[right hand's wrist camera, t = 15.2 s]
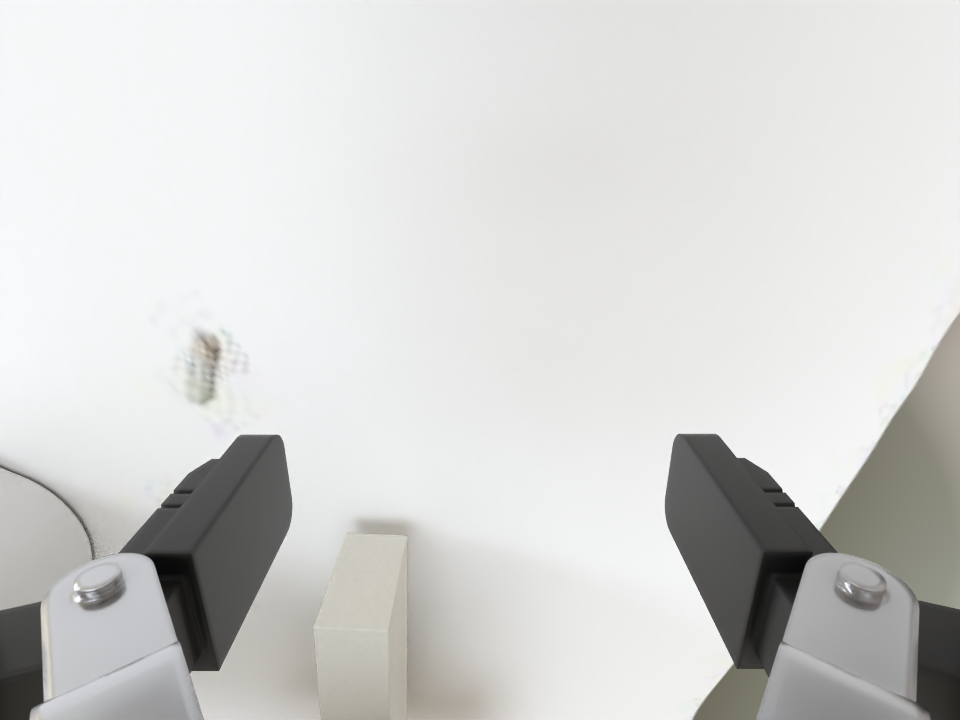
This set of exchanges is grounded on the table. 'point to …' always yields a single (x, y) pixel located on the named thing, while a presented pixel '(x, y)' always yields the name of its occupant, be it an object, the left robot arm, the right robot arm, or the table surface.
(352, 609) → the bar
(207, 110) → the table surface
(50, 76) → the table surface
